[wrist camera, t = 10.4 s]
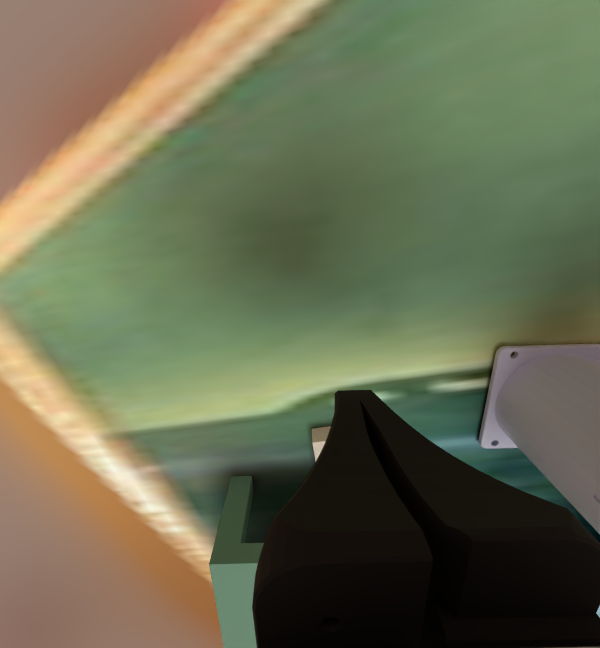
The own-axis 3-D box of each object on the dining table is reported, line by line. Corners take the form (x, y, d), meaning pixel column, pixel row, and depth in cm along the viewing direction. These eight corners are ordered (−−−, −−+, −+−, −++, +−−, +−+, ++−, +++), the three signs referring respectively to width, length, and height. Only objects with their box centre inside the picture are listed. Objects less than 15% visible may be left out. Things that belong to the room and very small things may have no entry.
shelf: (438, 470, 24) (485, 557, 18) (420, 584, 29) (454, 685, 23) (231, 476, 24) (209, 564, 18) (245, 589, 29) (231, 691, 23)
